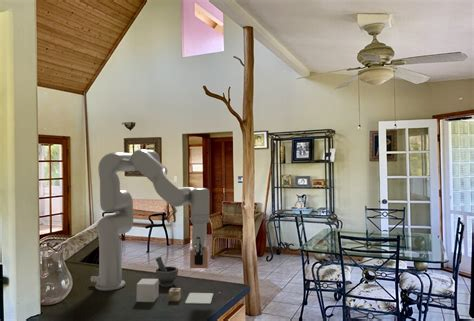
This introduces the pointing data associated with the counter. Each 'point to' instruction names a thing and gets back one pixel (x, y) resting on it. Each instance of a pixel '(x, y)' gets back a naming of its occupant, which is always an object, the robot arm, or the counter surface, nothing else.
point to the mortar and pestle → (165, 273)
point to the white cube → (147, 290)
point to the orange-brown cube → (205, 258)
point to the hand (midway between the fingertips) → (200, 261)
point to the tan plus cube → (174, 294)
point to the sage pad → (199, 298)
